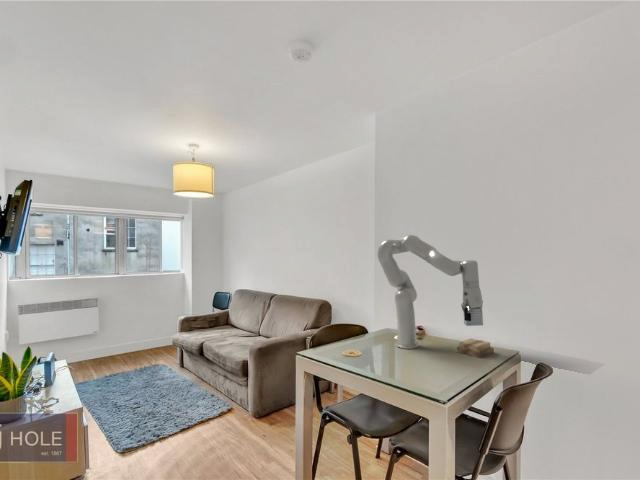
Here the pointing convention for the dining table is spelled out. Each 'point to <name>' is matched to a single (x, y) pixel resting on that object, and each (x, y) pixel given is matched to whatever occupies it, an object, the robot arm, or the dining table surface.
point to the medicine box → (475, 317)
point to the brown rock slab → (475, 348)
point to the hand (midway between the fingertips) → (473, 319)
